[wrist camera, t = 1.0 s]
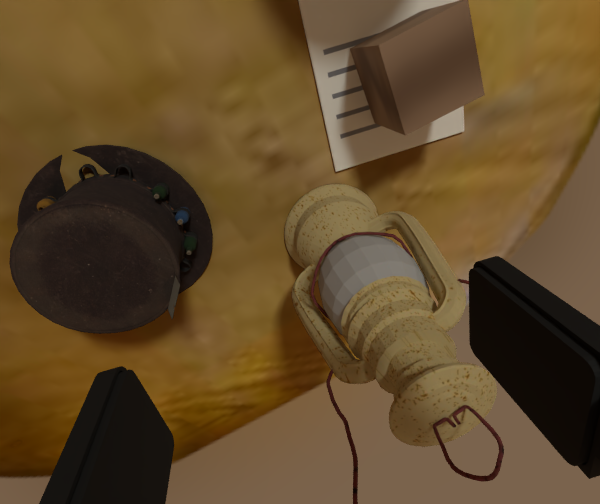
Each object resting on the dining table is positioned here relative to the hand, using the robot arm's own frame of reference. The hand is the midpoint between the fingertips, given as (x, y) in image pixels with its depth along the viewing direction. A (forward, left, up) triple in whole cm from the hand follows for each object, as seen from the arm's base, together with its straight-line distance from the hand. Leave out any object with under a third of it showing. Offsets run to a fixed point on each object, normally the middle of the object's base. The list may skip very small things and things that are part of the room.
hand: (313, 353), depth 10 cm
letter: (-4, +12, -24) cm, 27 cm away
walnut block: (-3, +13, -23) cm, 27 cm away
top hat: (+3, -13, -24) cm, 27 cm away
